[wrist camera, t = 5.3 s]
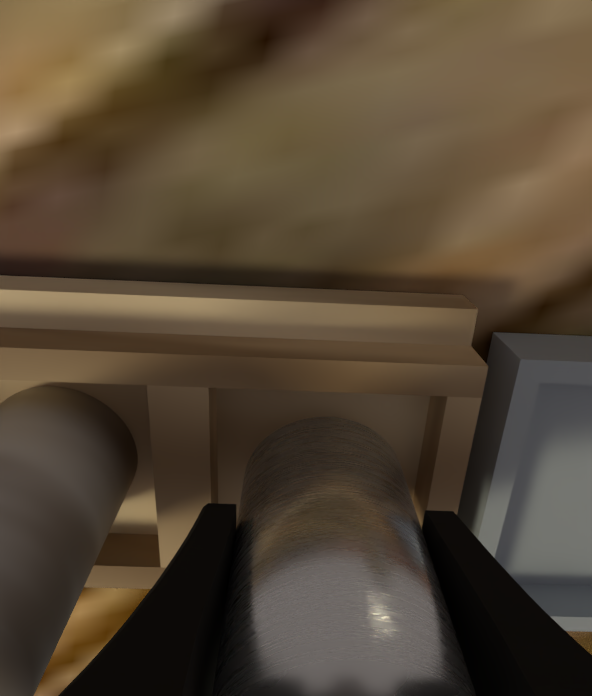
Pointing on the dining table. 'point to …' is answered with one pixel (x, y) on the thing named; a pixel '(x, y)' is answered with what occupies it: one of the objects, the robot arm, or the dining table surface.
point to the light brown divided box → (194, 420)
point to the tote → (536, 470)
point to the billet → (333, 575)
